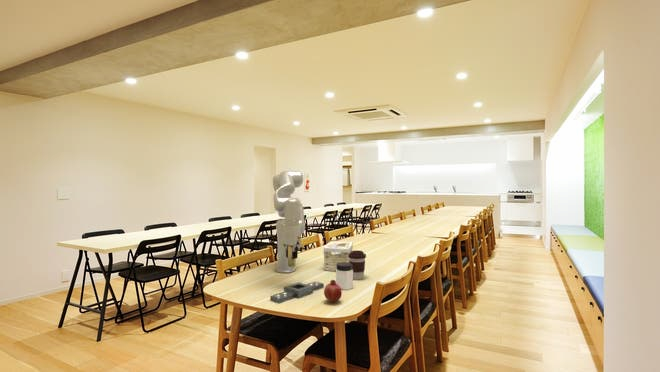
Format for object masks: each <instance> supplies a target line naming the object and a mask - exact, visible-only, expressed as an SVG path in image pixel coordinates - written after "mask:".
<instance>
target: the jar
mask: <svg viewBox="0 0 660 372" xmlns="http://www.w3.org/2000/svg"><path fill="white" fill-rule="evenodd" d="M335 281H336V284H337V285H339V286H340V288H341V291H342V290H344V291H347V290H351V289H354V279H353V270H352V264H351V263H347V262H342V263H337V269H336V271H335Z"/></svg>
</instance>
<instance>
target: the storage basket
mask: <svg viewBox="0 0 660 372" xmlns="http://www.w3.org/2000/svg"><path fill="white" fill-rule="evenodd" d="M353 247H354V245H353V241H333V240H332V241H329V242H328V243H327V244H325V245H323V262H324V263H323V265H324V271H329V272H332V271H333V272H336V269H337V263H342V262H347V263H349V260H350V259H349V257H348V254H350V253H351V251H353Z"/></svg>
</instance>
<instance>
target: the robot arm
mask: <svg viewBox="0 0 660 372" xmlns="http://www.w3.org/2000/svg"><path fill="white" fill-rule="evenodd" d="M303 182H304V175H303V173H302V171H299V170H283V171H280V173H279V174H276V175H274V176H273V177H272V186H273V189H274V194H273V199H272V200H273V208H274V211H276V212H277V215H278V216H279V217H280V218H281V219H280V218H279V219H278V220H277V221H276V223H275V228H276V229H275V230H276V238H277V261H276V262H275V263H274V266H276V267H275V269H274V272H276V273H280V274H289V273H293V272H295V271H296V270H297V268H296V266H294V267H289V266H288V245H290V246H293V251H292V259H298V255H299V253H298V251H299V250H300V249H301V248H302V247H303V245H302V234H304V233H305V230H306V223H305V222H306V221H305V212H304V211H305V210H304V206H303V204H302V203H301V202H302V201H301V200H300V199H299V198H298V197H291V196H292V194H294V193H295V190H296V188H300V187H301V186H302V185H303ZM295 246H296V248H295Z"/></svg>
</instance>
